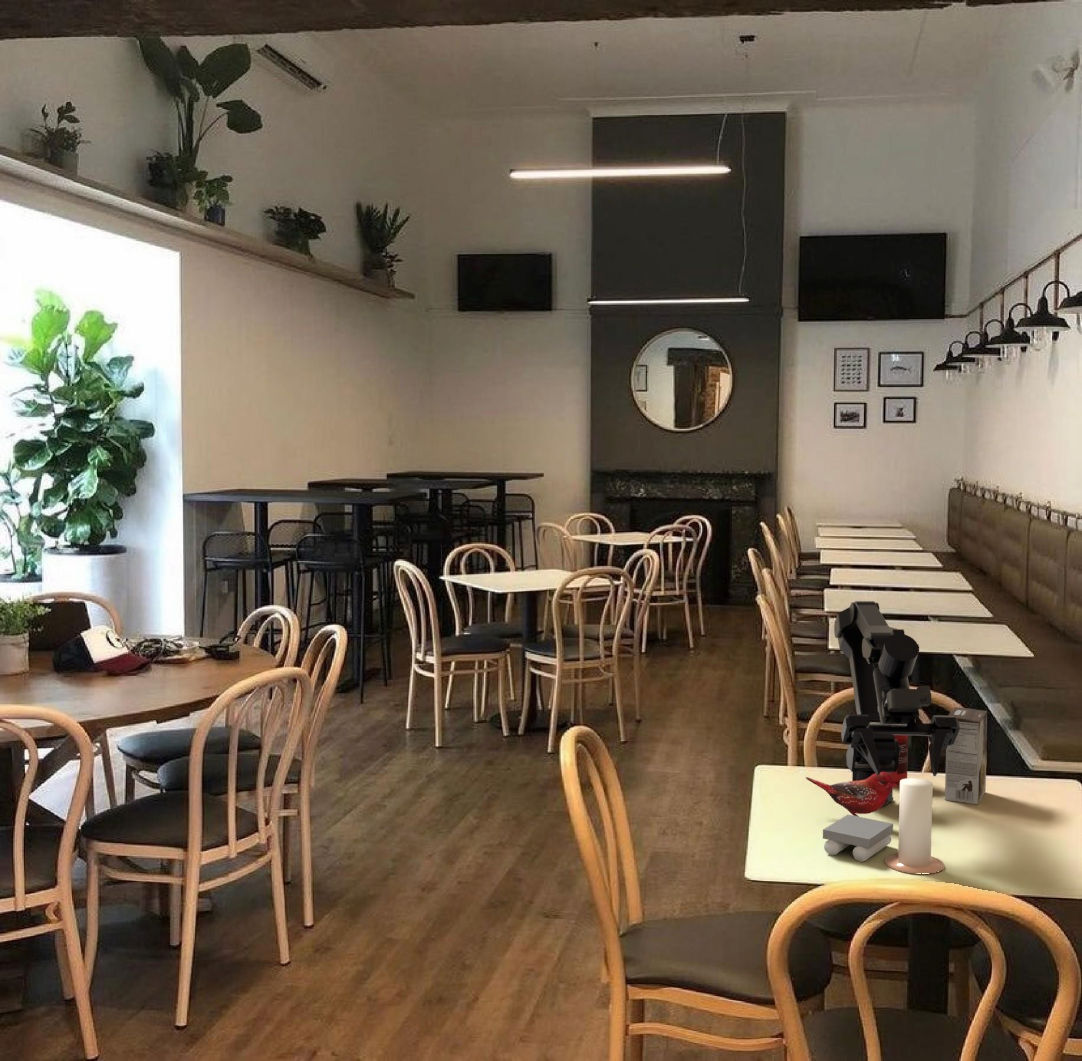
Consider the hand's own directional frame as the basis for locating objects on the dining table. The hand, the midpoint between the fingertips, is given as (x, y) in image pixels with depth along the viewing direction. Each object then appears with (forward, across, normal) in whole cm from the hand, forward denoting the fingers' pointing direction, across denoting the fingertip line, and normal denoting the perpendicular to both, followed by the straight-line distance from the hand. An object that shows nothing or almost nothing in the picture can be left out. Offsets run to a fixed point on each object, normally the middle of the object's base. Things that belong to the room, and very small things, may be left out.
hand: (906, 774), depth 202 cm
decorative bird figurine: (-2, -6, +20) cm, 21 cm away
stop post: (+13, 0, +4) cm, 14 cm away
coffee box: (-13, +18, +32) cm, 39 cm away
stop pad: (+14, 0, +4) cm, 14 cm away
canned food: (-20, +6, +39) cm, 44 cm away
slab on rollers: (+9, -8, +9) cm, 15 cm away
